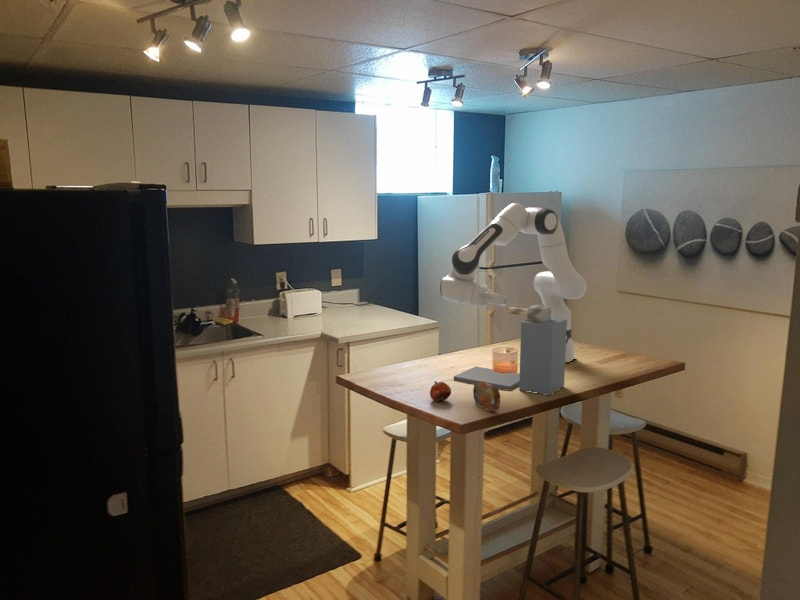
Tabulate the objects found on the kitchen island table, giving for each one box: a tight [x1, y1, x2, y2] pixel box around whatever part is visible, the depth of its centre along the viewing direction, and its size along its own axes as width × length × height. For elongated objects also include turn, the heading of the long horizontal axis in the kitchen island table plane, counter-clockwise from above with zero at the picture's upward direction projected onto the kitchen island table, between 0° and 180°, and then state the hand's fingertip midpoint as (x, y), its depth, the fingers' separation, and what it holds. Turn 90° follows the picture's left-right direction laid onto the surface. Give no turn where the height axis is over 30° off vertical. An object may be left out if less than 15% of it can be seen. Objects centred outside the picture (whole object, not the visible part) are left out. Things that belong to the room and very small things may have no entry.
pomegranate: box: [429, 380, 452, 405], centre depth 219 cm, size 7×7×10 cm
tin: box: [472, 381, 501, 412], centre depth 213 cm, size 15×3×8 cm, turn 21°
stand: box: [518, 318, 567, 396], centre depth 233 cm, size 12×14×26 cm
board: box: [453, 366, 520, 391], centre depth 247 cm, size 24×18×2 cm
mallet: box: [505, 304, 551, 323], centre depth 234 cm, size 16×8×5 cm, turn 55°
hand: (517, 303), depth 235 cm, fingers open, 8 cm apart
